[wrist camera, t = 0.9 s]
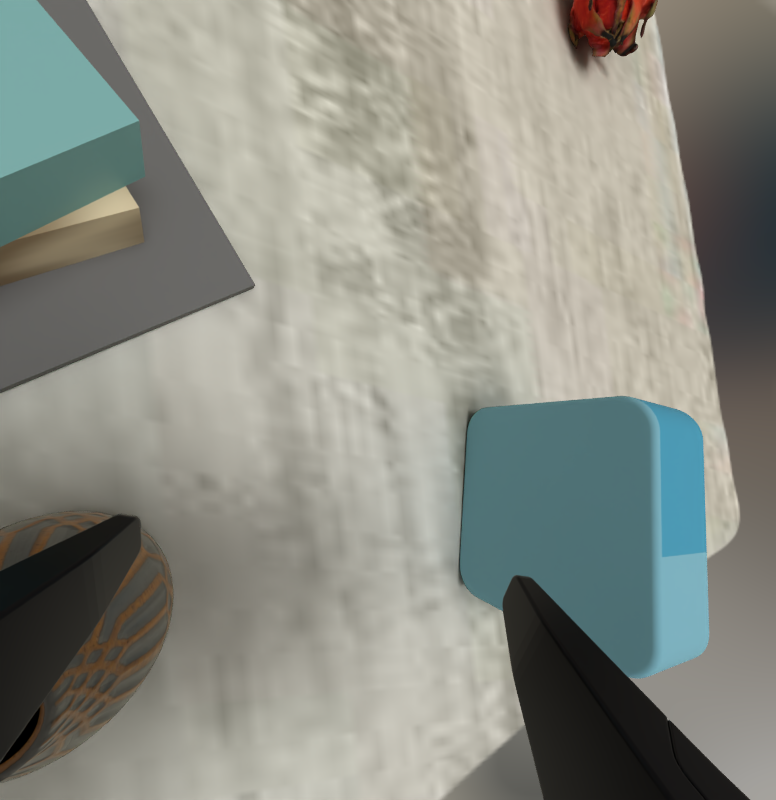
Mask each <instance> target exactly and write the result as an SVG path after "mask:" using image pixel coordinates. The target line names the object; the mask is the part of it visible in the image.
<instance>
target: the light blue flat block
mask: <svg viewBox="0 0 776 800" xmlns="http://www.w3.org/2000/svg"><path fill="white" fill-rule="evenodd" d="M460 571H461V576H462V579H463V581H464V584H465V585H466V587H467V589H468V590H469V591H470V592H471V593H472V594H473V595H474V596H476V597H478V598H479V599H481V600H483V601H485V602H487V603H489V604H491V605H492V606H494V607H496V608H498V609H500V610H502V611H503V608H502V602H503V597H504V595H505V592H506V590H507V588H508V586H509V583H510V581H511V579H512V577H513V576H515V575H521V576H528V577H531V578H532V579H533V580H534V581H535V582H536V583H537V584H538V585H539V586H540V587H541V588H542V589H543V590H544V591H545V592H546V593H547V594H548V595H549V596H550V597H551V598H552V599H553V600H554V601H555V602H556V603H557V604H558V605H559V606H560V607H561V608H562V609H563V610H564V611H565V613H566V614H567V615H568V616H569V617H570V618H571V619H572V620H573V621H574V622H575V623H576V624H577V625H578V626H579V627H580V628H581V629H582V630H583V631H584V632H585V633H586V634H587V635H588V636H589V637H590V638H591V639H592V640H593V641H594V642H595V643H596V645H597V646H598V647H599V648H600V649H601V650H602V651H603V652H604V653H605V654H606V655H607V656H608V657H609V658H610V659H611V660H612V661H613V662H614V663H615V664H616V665H617V666H618V667H619V668H620V669H621V670H622V671H623V672H624V673H625V674H626V675H627V676H628V677H630V678H645V677H648V676H651V675H653V674H656V673H658V672H661V671H663V670H666V669H668V668H671V667H673V666H676V665H678V664H681V663H683V662H686V661H688V660H691V659H693V658H695V657H698V656H699V655H701V654H702V653H703V652H704V650H705V649H706V647H707V644H708V640H709V618H708V617H709V615H708V585H707V551H706V519H705V487H704V455H703V436H702V432H701V430H700V428H699V426H698V424H697V423H696V422H695V421H694V419H692V418H691V417H690V416H689V415H687V414H686V413H684V412H682V411H680V410H677V409H673V408H670V407H666V406H662V405H658V404H655V403H651V402H647V401H643V400H640V399H636V398H632V397H626V396H616V397H605V398H593V399H581V400H569V401H558V402H546V403H534V404H523V405H511V406H499V407H488V408H483V409H480V410H479V411H477V412H476V413H475V414H474V415H473V417H472V418H471V420H470V422H469V425H468V430H467V444H466V462H465V480H464V497H463V515H462V533H461V550H460Z"/></svg>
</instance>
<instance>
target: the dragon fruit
mask: <svg viewBox="0 0 776 800" xmlns="http://www.w3.org/2000/svg"><path fill="white" fill-rule="evenodd" d="M657 2H658V0H574V3H573V7H572V9H571V12H570V24H569V25H568V28H569V33H570V38H571V40H572V42H573V43H574V45H575V47H576V49H577V46H578V40H579V39H580V38H581V37H583V36H584V35H586V37H587V38H588V42H589V45H590V47H591V48H593V54H592V56H594V57H595V56H602V57H605V56H606V55H608V54H609V52H611V50H612V49H613V50H614V52H615V53H617V54H618V55H620V56H627V55H628V54H630V53H633V52H634V51H635V50H637V48H638V45H637V44H635V36H636V31H637V27H638V23H639V20H641V19H643V20H644V23H643V25H642V28H641V33H640V36H641V38H642V36H643V34H644V30H645V25H646V22H647V20H648V19H649V18H650V17H652V16H653V14H654V12H655V9H656V6H657Z"/></svg>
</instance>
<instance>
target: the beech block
mask: <svg viewBox="0 0 776 800" xmlns="http://www.w3.org/2000/svg"><path fill="white" fill-rule="evenodd" d="M140 243H144V236H143V229H142V223H141V216H140V210H139V206H138V205H137V203H136V202H135V200H134V199H133V197H132V195H131V194H130V192H129V191H128V189H127V188H126V186H125V187H123V188H121V189H119V190H116V191H114V192H112V193H110V194H108V195H106V196H104V197H102V198H100V199H98V200H96V201H94V202H92V203H90V204H88V205H86V206H84V207H82V208H80V209H78V210H75V211H73V212H71V213H69V214H67V215H65V216H63V217H61V218H59V219H57V220H55V221H53V222H51V223H49V224H47V225H45V226H43V227H41V228H39V229H37V230H34V231H32V232H30V233H28V234H26V235H24V236H22V237H20V238H18V239H16V240H14V241H12V242H10V243H8V244H6V245H4V246H2V247H0V286H2V285H6V284H9V283H12V282H16V281H19V280H22V279H25V278H29V277H32V276H35V275H39V274H42V273H45V272H48V271H52V270H55V269H58V268H61V267H65V266H68V265H71V264H75V263H78V262H81V261H84V260H88V259H91V258H94V257H98V256H101V255H104V254H107V253H111V252H114V251H117V250H121V249H124V248H127V247H130V246H134V245H137V244H140Z"/></svg>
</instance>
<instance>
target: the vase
mask: <svg viewBox="0 0 776 800" xmlns="http://www.w3.org/2000/svg"><path fill="white" fill-rule="evenodd" d="M111 517H113V516H112V515H108V514H104V513H98V512H89V511H69V512H59V513H52V514H47V515H42V516H38V517H34V518H30V519H27V520H24V521H21V522H18V523H15V524H12V525H10V526H7V527H5V528H2V529H0V570H2V569H4V568H6V567H9V566H11V565H13V564H15V563H17V562H19V561H21V560H23V559H25V558H27V557H29V556H32V555H34V554H36V553H38V552H40V551H42V550H44V549H46V548H48V547H50V546H52V545H55V544H57V543H59V542H61V541H63V540H65V539H67V538H69V537H71V536H73V535H75V534H77V533H80V532H82V531H84V530H86V529H88V528H90V527H92V526H94V525H96V524H98V523H100V522H103V521H105V520H107V519H109V518H111ZM172 608H173V584H172V577H171V572H170V569H169V566H168V563H167V560H166V558H165V556H164V554H163V552H162V550H161V549H160V547H159V546H158V544H157V543H156V542H155V541H154V540H153V538H152V537H150V536H149V535H148V534H147V533H146V532H145V531H144V530H142V529H141V549H140V552H139V554H138V556H137V557H136V559H135V561H134V563H133V564H132V566H131V568H130V570H129V571H128V573H127V575H126V577H125V578H124V580H123V582H122V584H121V585H120V587H119V589H118V591H117V592H116V594H115V596H114V598H113V599H112V601H111V603H110V605H109V606H108V608H107V610H106V611H105V613H104V615H103V616H102V618H101V620H100V621H99V623H98V624H97V626H96V627H95V629H94V630H93V632H92V633H91V634H90V636H89V637H88V639H87V640H86V642H85V643H84V644H83V646H82V647H81V649H80V650H79V651H78V653H77V654H76V656H75V657H74V659H73V660H72V661H71V663H70V664H69V666H68V667H67V668H66V670H65V671H64V673H63V674H62V676H61V677H60V678H59V680H58V681H57V683H56V684H55V685H54V687H53V688H52V690H51V691H50V693H49V694H48V695H47V697H46V698H45V700H44V701H43V702H42V704H41V705H40V707H39V708H38V710H37V711H36V712H35V714H34V715H33V717H32V718H31V719H30V721H29V722H28V724H27V725H26V727H25V728H24V729H23V731H22V732H21V734H20V735H19V736H18V738H17V739H16V741H15V742H14V743H13V745H12V746H11V748H10V749H9V751H8V752H7V753H6V755H5V756H4V758H3V759H2V760H1V762H0V783H2V782H6V781H9V780H12V779H15V778H18V777H21V776H24V775H26V774H29V773H31V772H33V771H36V770H38V769H40V768H42V767H44V766H46V765H48V764H50V763H52V762H54V761H56V760H57V759H59V758H61V757H63V756H64V755H66V754H68V753H69V752H71V751H72V750H74V749H75V748H77V747H78V746H80V745H81V744H82V743H84V742H85V741H86V740H88V739H89V738H90V737H91V736H93V735H94V734H95V733H96V732H97V731H99V730H100V729H101V728H102V727H103V726H104V725H105V724H107V723H108V722H109V721H110V720H111V719H112V718H113V717H114V716H115V715H116V714H117V713H118V712H119V710H120V709H121V708H122V707H123V706H124V705H125V704H126V703H127V701H128V700H129V699H130V698H131V697H132V695H133V694H134V693H135V692H136V690H137V689H138V687H139V686H140V685H141V683H142V682H143V680H144V679H145V677H146V676H147V674H148V673H149V671H150V669H151V668H152V666H153V664H154V662H155V661H156V659H157V657H158V655H159V653H160V650H161V648H162V646H163V643H164V641H165V638H166V635H167V632H168V629H169V625H170V621H171V615H172Z"/></svg>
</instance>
